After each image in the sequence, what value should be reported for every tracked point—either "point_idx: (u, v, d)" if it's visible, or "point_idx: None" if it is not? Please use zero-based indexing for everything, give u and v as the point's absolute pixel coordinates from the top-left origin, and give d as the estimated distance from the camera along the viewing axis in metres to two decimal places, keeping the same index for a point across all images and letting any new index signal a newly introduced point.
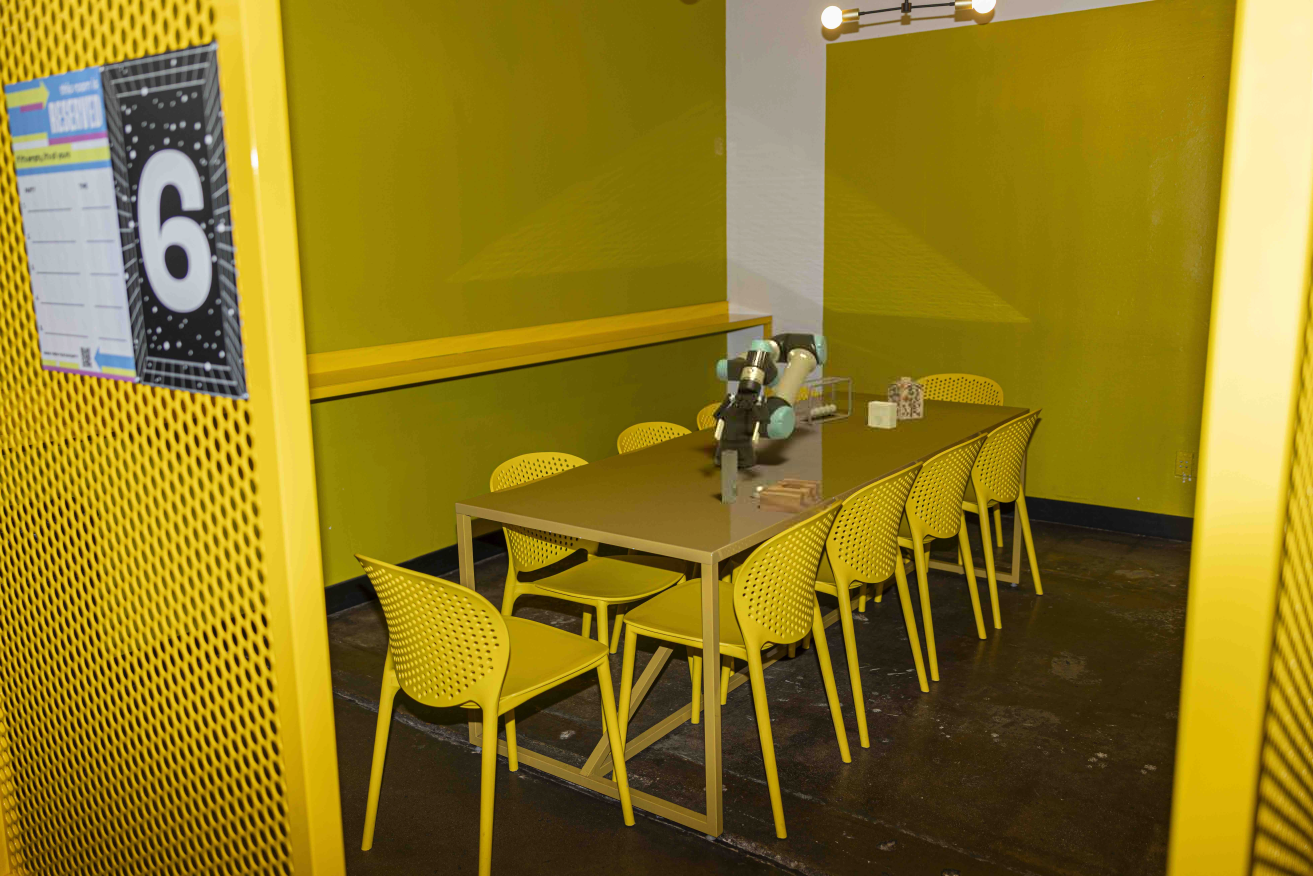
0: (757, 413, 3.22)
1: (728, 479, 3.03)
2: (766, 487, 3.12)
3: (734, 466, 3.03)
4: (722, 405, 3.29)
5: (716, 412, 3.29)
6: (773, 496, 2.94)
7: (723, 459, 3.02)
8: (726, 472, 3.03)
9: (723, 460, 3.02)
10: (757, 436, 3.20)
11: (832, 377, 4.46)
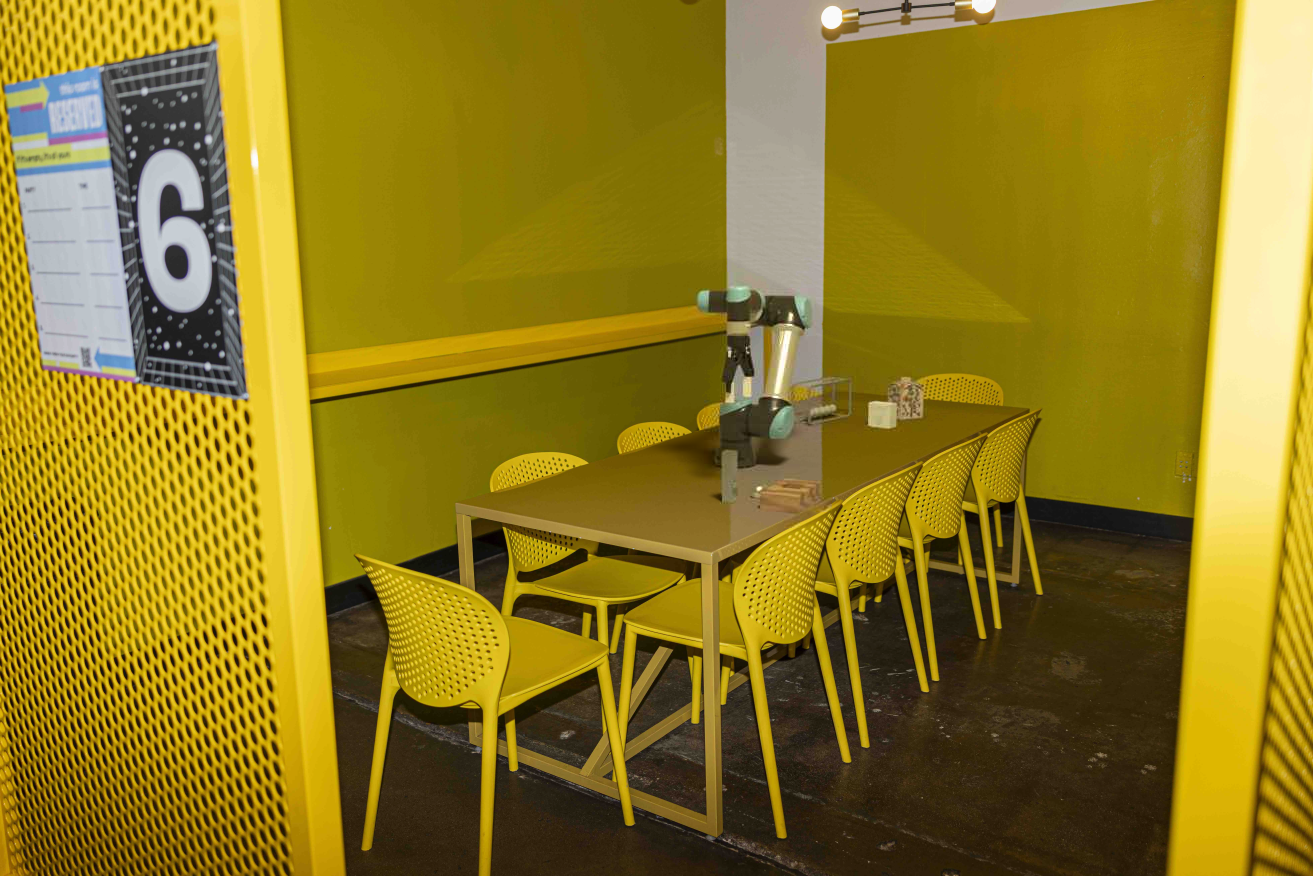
0: (749, 368, 3.23)
1: (728, 479, 3.03)
2: (765, 487, 3.12)
3: (734, 466, 3.03)
4: (732, 366, 3.11)
5: (730, 375, 3.10)
6: (773, 496, 2.94)
7: (723, 459, 3.02)
8: (726, 472, 3.03)
9: (723, 460, 3.02)
10: None
11: (832, 377, 4.46)
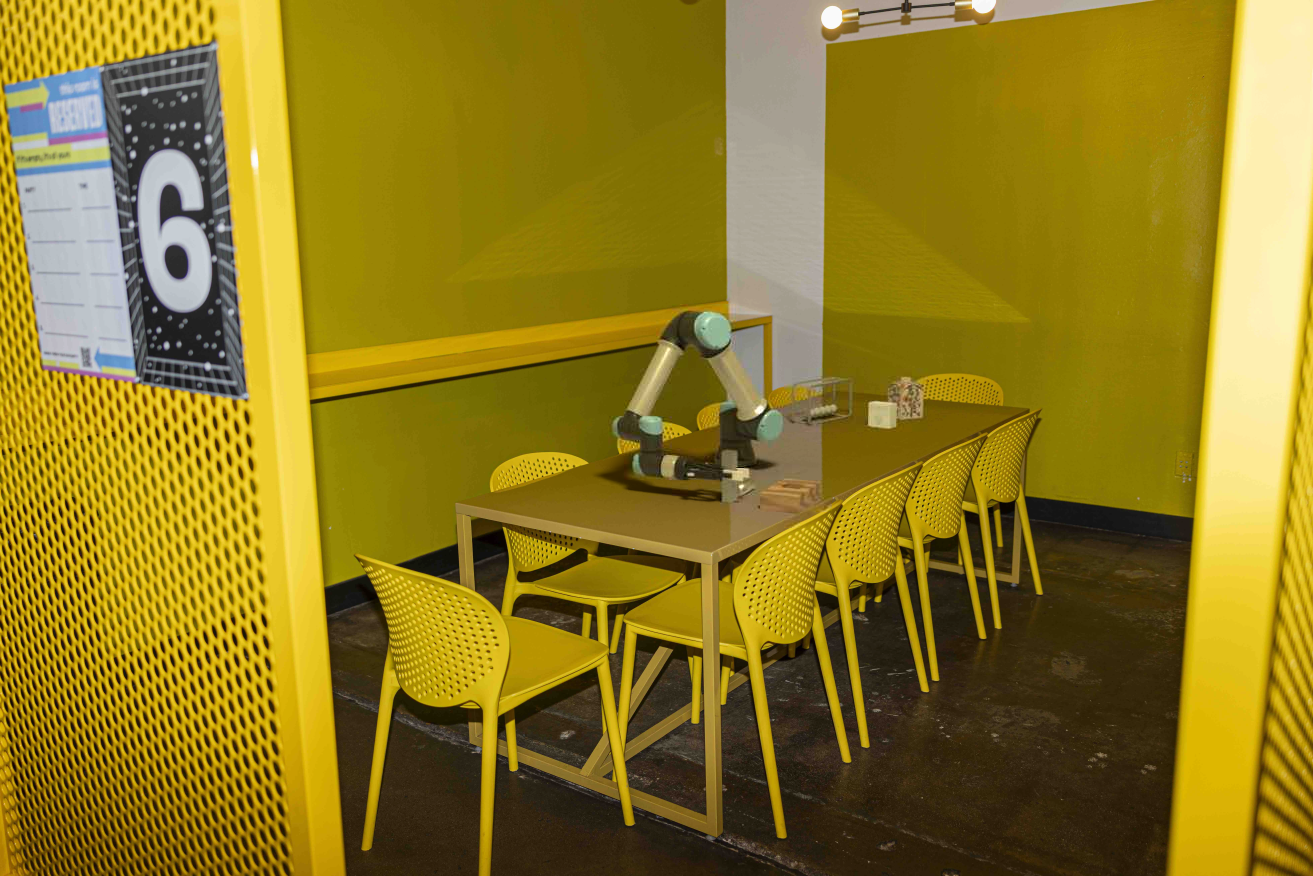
0: None
1: None
2: None
3: (734, 466, 3.03)
4: None
5: None
6: (773, 496, 2.94)
7: (723, 459, 3.02)
8: None
9: (723, 460, 3.02)
10: (736, 475, 3.00)
11: (833, 377, 4.45)
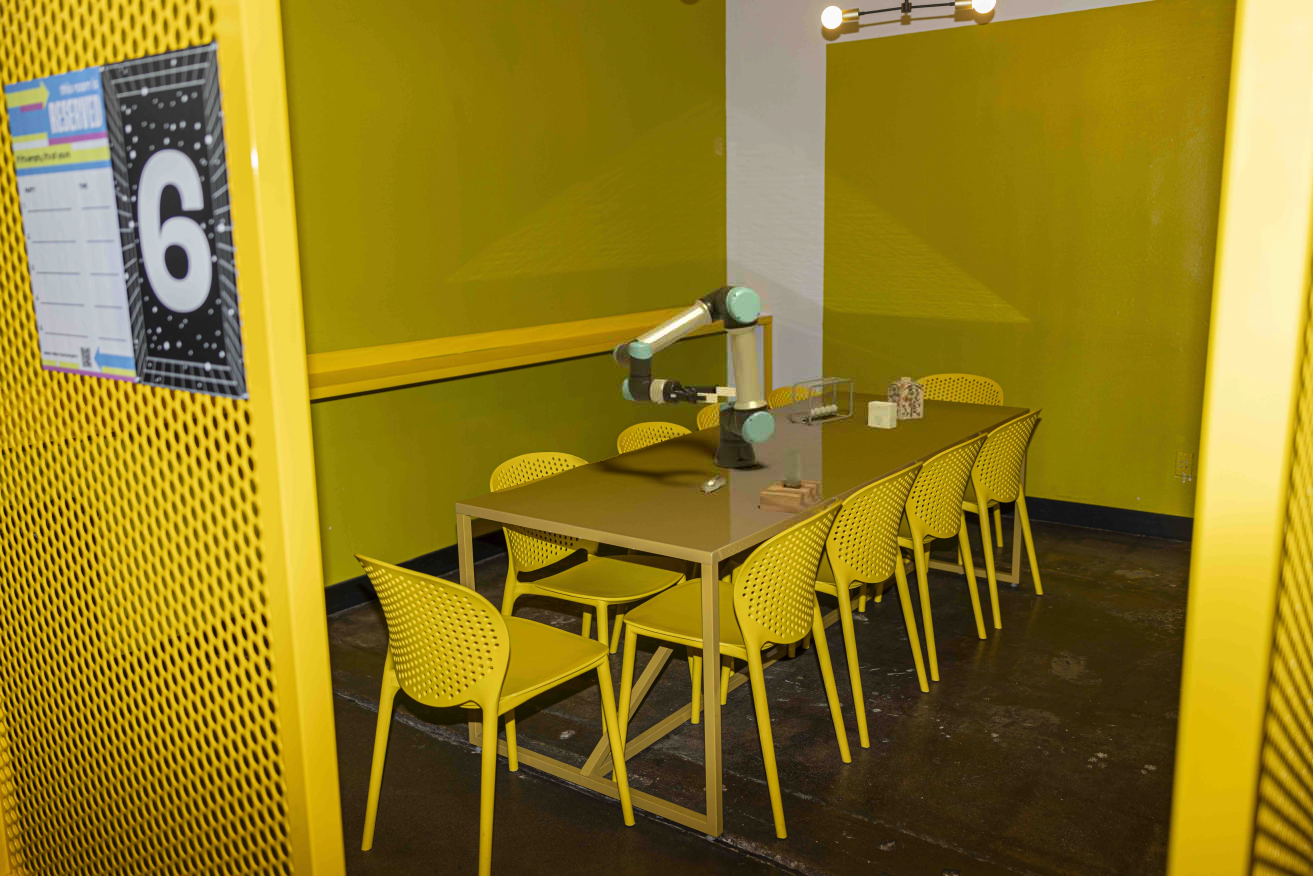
0: None
1: (792, 477, 3.01)
2: None
3: (799, 465, 3.01)
4: None
5: None
6: (773, 496, 2.94)
7: (787, 457, 3.00)
8: (790, 470, 3.01)
9: (787, 458, 3.01)
10: (710, 397, 3.04)
11: (834, 377, 4.45)
